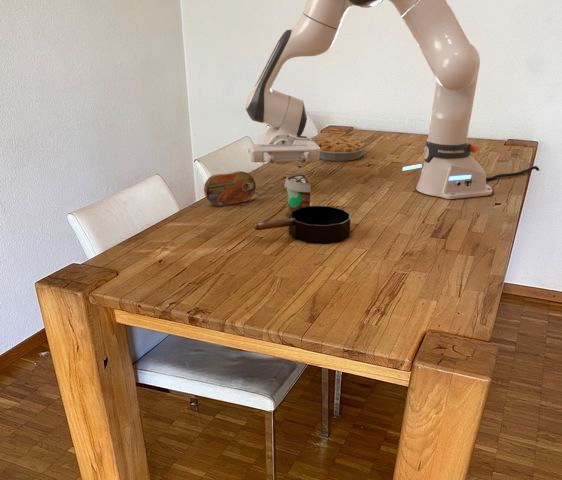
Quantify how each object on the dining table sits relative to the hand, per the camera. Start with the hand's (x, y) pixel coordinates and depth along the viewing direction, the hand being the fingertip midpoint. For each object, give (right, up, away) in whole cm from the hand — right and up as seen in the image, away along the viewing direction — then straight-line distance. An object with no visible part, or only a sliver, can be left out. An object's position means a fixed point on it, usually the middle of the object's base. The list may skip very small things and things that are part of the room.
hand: (288, 159), depth 164 cm
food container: (+2, -18, -6) cm, 19 cm away
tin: (-17, -11, +3) cm, 20 cm away
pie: (+18, +21, +51) cm, 58 cm away
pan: (+3, -26, -19) cm, 32 cm away
